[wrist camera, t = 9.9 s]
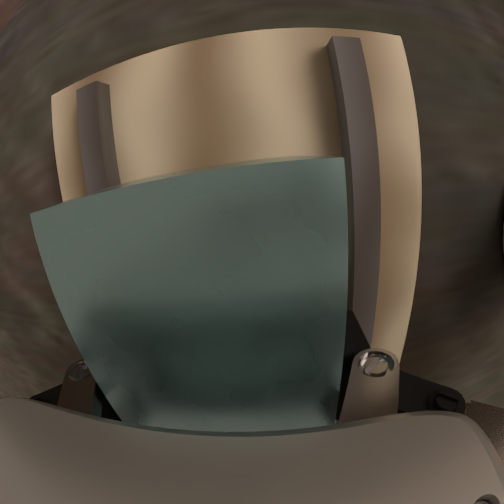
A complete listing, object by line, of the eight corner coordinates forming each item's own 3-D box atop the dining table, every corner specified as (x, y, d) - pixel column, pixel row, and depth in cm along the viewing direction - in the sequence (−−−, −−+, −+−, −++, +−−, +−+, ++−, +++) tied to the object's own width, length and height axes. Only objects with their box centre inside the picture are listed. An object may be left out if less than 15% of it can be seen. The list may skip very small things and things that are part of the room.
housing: (308, 394, 13) (320, 489, 8) (201, 399, 14) (180, 489, 8) (296, 155, 9) (343, 157, 4) (139, 179, 10) (29, 213, 4)
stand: (373, 57, 12) (411, 28, 7) (371, 378, 20) (387, 424, 15) (89, 102, 14) (37, 94, 9) (166, 392, 22) (150, 436, 17)
